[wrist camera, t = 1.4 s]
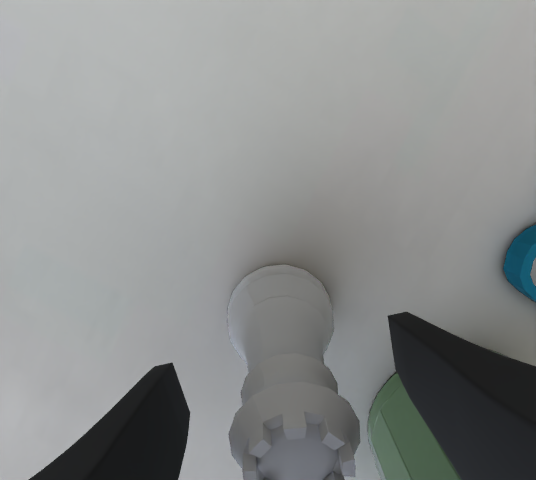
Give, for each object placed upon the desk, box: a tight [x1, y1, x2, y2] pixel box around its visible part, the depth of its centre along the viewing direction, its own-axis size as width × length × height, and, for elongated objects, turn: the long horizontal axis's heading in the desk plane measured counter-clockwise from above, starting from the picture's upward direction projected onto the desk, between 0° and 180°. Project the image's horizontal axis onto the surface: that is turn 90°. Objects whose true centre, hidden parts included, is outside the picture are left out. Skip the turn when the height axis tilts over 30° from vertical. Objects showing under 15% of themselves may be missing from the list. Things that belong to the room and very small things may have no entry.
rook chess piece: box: [227, 264, 360, 480], centre depth 12 cm, size 4×4×8 cm
